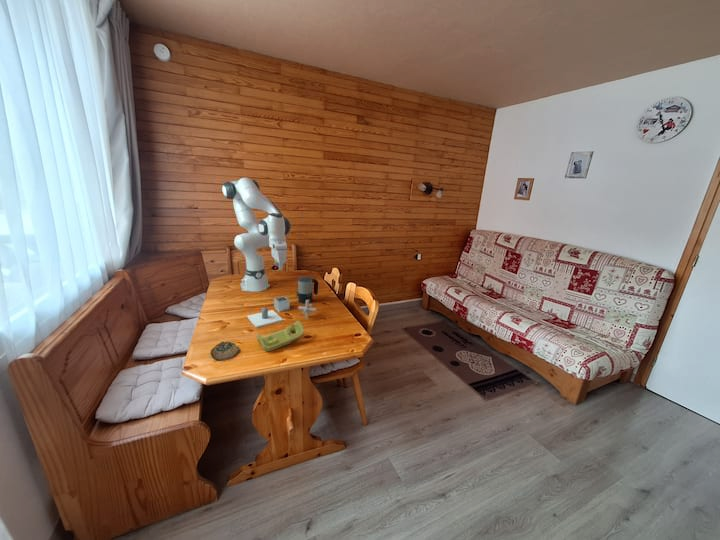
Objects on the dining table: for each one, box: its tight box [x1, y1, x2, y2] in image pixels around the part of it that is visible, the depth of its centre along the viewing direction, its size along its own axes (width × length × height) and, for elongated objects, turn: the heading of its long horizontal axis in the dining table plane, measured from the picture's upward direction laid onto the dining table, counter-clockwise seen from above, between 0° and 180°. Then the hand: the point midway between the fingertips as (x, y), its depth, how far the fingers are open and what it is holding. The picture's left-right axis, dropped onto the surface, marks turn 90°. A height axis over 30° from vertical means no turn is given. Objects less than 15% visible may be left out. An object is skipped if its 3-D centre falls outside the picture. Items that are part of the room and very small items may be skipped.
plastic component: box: [256, 320, 305, 352], centre depth 128 cm, size 20×7×10 cm
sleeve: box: [273, 295, 291, 313], centre depth 161 cm, size 7×7×6 cm
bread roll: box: [210, 341, 240, 361], centre depth 117 cm, size 11×11×5 cm
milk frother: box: [296, 276, 319, 304], centre depth 176 cm, size 14×16×15 cm
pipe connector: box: [297, 300, 317, 319], centre depth 151 cm, size 10×10×10 cm
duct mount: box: [247, 307, 284, 329], centre depth 147 cm, size 14×14×6 cm
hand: (279, 267), depth 155 cm, fingers open, 8 cm apart
